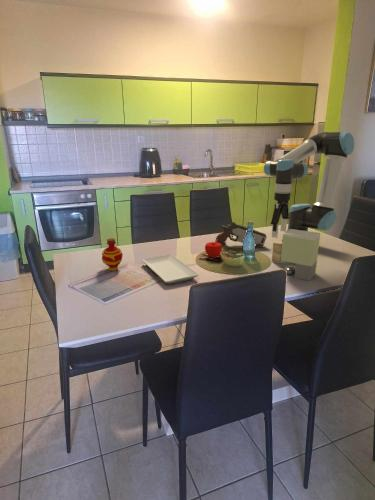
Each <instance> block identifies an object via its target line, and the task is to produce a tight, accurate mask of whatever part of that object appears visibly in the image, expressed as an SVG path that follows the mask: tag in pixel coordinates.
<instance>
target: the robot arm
mask: <svg viewBox="0 0 375 500" xmlns="http://www.w3.org/2000/svg"><path fill="white" fill-rule="evenodd" d="M354 148H355V138H354V136H353V134H352V133H351V132H348V131H331V132H329V131H324V132H320V133H316V134H314V135H312V136H310V137H309V138H307V139H305V140H304V141H302V144H300V145H299V146H296V148H294V149H292V150H290V151H289V152H287V153H285V154H284V155H282V156H281V157H279V158H277V159H276V160H268V161H266V162H265V163H264V165H263V173H264V174H265V176H269V177H275V183H274V191H275V192H274V194H273V195H274V199H273V200H274V201H277V203H275V204H274V209H273V214H272V217H271V222H270V225H272V226H271V227H272V229H271V238H275V239H278V237H279V236H278V235H279V221H280V218H281V221H280V232H283V233H285V232H286V231H287V230H289V229H295V230H302V231H309V229H314V230H317V231H324V232H327V231H329V230H331V229H332V228H333V227H334V225H335V223H336V221H337V212H336V211H335V207H334V206H333V202H334V198H335V195H336V190H337V187H338V182H339V179H340V178H339V177H340V175H341V174H340V173H341V171H342V166H343V162H344V161H346V160H347V158H348V156H349V155H352V153H353V152H354ZM317 154H318V155H319V154H322V155H324V156H323V157H324V158H325V159H326V160H325V164H324V169H323V173H322V177H321V180H320V185H319V190H318V193H317V198H316V201H315V202H314V203H313V204H312V205H311V204H310V203H296V204H292V205H291V206H290V207H289V201H290V200H291V192H292V183H293V182H292V181H293V179H294V180H295V179H301V178H304V177H305V178H306V176H307V175H308V172H309V167H308V164H306V163H304V162H303V160H305V159H306V158H308V157H312V156H315V155H317ZM287 223H288V224H287Z"/></svg>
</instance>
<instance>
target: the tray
mask: <svg viewBox="0 0 375 500" xmlns="http://www.w3.org/2000/svg"><path fill="white" fill-rule="evenodd" d="M141 261H142V262H143V263H144V264H145V265H146V266H147V267H148V268H149V269H150V270H151V271H152V272H154V273H155V274H156V275H157V276H158V277H159V278H160V279H161V280H162V281H163V282H164V283H166V284H170V285H171V284H175V283H181V282H186V281H189V280H191V279H194V278H196V277H198V276H199V273H198V272H197V271H195V270H194V269H193V268H192V267H190V266H189V265H188V264H186V263H185V262H184V261H182V260H181V259H179V258H178V257H177V256H175V255H174V254H171V253H170V254H164V255H158V256H153V257H148V258H143V259H141Z"/></svg>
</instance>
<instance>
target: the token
mask: <svg viewBox="0 0 375 500" xmlns="http://www.w3.org/2000/svg"><path fill="white" fill-rule="evenodd" d="M284 270H286V271H287V275H286V276H295V267H294V266H284V267H283V271H284Z"/></svg>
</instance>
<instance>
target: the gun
mask: <svg viewBox="0 0 375 500" xmlns="http://www.w3.org/2000/svg"><path fill="white" fill-rule="evenodd" d="M220 228H221V229H223V231H222V232H220V233H219V234H217V235H216V238H215V241H214V242H217V243H220V244H221V245H222V246H226V243H227V242H226V241H227V240H228V239H229V240H230V241H232V242H236V243H237V242H239V243H240V244H241V243H242V244H244V243H243V239H244V236H245V234H246V230H247V228H248V227H246V226H243V225H241V224H237V223H236V222H235V221H231V223H230V224H229V223H228V224H227V226H226V225H223V224H222V225H221V226H220ZM252 230H253V234H254V237H255V244H256V246H255V247H254V248H257V249H260V248H262V247H264V246H265V243H266V240H267V237H268V236H267V234H266V233H264V232H260V231H259V230H255V229H252ZM234 237H236V238H234Z"/></svg>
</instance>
